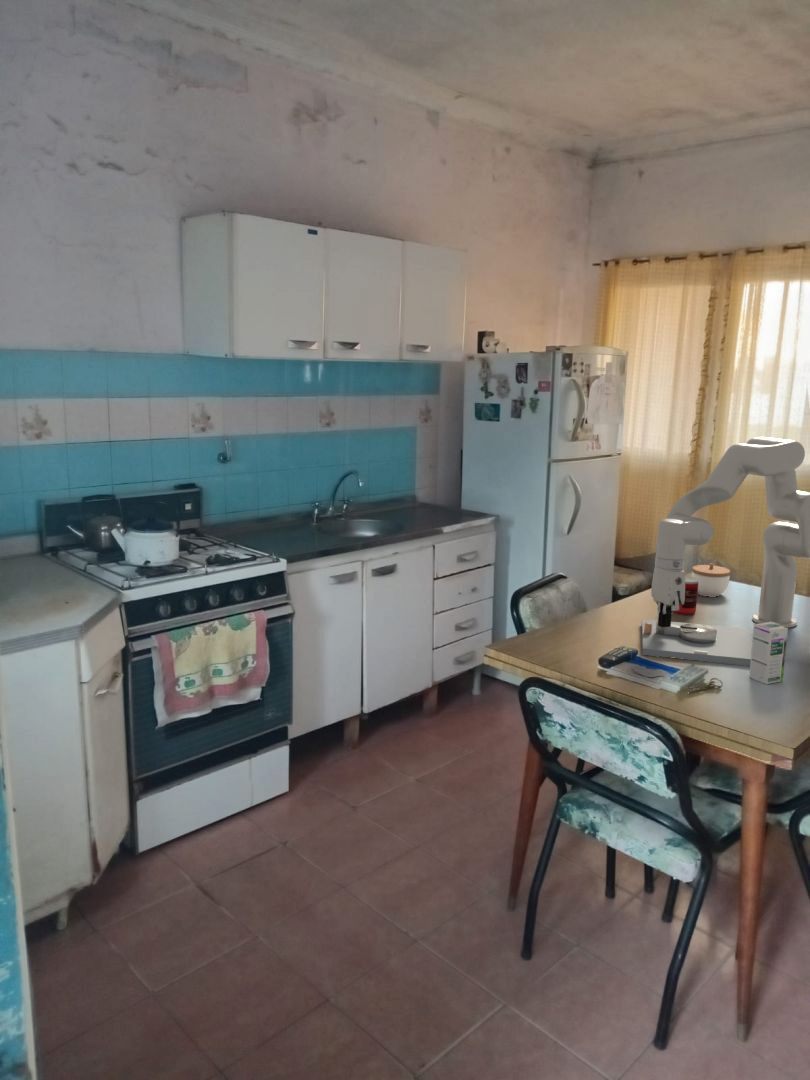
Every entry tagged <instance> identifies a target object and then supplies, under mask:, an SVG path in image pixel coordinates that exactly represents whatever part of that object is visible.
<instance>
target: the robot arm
mask: <svg viewBox="0 0 810 1080" xmlns="http://www.w3.org/2000/svg"><path fill="white" fill-rule="evenodd" d="M805 453H806V450H805V448H804V446H803V444H802V443H800V442H799V441H797V440H792V439H784V438H783V439H782V438H775V437H765V436H756V437H752V438H750V439H748V440H747V441H746V443H742V442H741V443H735V444H732V445H731V446H730V447H729V448H727V450H726V451H725V453H724V454H723V455H722V456H721V458H720V460H719V462H717V464H716V466H715V467H714V469H713V470H712V472H711V474H709V476H708V478H707V479H706V480H705V481H704V482H703V483H702V484H700V485H698V486H696V487H694V488H693V489H692V490H690V491H688V492H687V493H685V494H684V495H683V496H681V497H679V499H678V500H677V501H676V502H675V503H674V505H673V506H672V508H671V509H670V510H669V512H668V514H667V515H666V518H663V519H661V520H660V521H659V522H658V526H657V535H656V536H657V538H656V548H655V549H656V551H655V561H654V563H655V564H654V569H653V574H652V575H653V576H652V581H651V587H650V588H651V589H650V591H651V592H650V593H651V597H652V599H653V602H655V604H657V608H658V612H659V616H658V626H660V627H670V626H671V622H672V614H674V613H673V611H678V610H679V605H683V604H684V601H685V576H686V575H685V570H684V565H685V564H684V561H685V554H686V553H685V552H686V546H703V545H706V544H708V543H709V542H710V541H711V540H712V539H713V537H714V534H715V531H714V530H715V528H714V527H713V524H712V523H711V522H710V521H709V520H706V519H704V518H699V517H695V516H693V515H694V514H695V513H696V512H698V511H699V510H701V509H703V508H706V507H708V506H712V505H718V504H721V503H723V502H724V503H725V502H727V501H730V500H731V499H733V498H734V496H735V494H736V493H737V491H738V490H739V489H740V486H742V484H743V483H744V481H745V479H746V478H747V476H749V475H750V476H751V475H752V476H759V477H764V482H765V495H766V498H765V499H766V509H767V513H768V515H769V516H770V517H771V518H773V519H775V520H780V521H774V522H772V523H770V524H768V525H767V526H766V527H765V528H764V531H763V534H762V545H763V568H762V578H761V585H760V586H761V587H760V588H761V589H760V596H759V605H758V612H757V613H754V614H753V615H752V621H754V622H755V624H760V623H767V622H770V621H771V622H774V623H778V624H781V625H783V626H786V627H787V628H788V629H789V628H793V627H796V626H797V623H798V622H797V619H796V618H794V617H793V610H794V600H795V593H796V586H797V585H796V583H797V576H798V566H797V565H798V564H797V560H796V559H795V557H796V558H800V559H805V560H810V492H808V491H803V490H799V488H798V482H797V481H798V480H797V479H798V478H797V472H796V469H798V468H799V467H800V466H801V465H802V464H803V463H804V459H805V456H806V454H805Z"/></svg>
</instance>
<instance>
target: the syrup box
mask: <svg viewBox="0 0 810 1080" xmlns="http://www.w3.org/2000/svg"><path fill="white" fill-rule="evenodd" d="M752 631H753V632H752V652H751V663H750V666H749V678H750V679H753V680H754V681H757V682H758V683H761V684H763V685H770V684H774V683H782V682H783V681H784V674H785V673H784V672H785V671H784V670H785V664H786V663H785V662H786V661H785V660H786V652H787V642H788V641H787V640H788V633H789V632H788V631H789V628H787V627H786V626H783V625H781V624H778V623H774V622H771V621H770V622H767V623H760V624H759V623H755V624H753V630H752Z"/></svg>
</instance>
